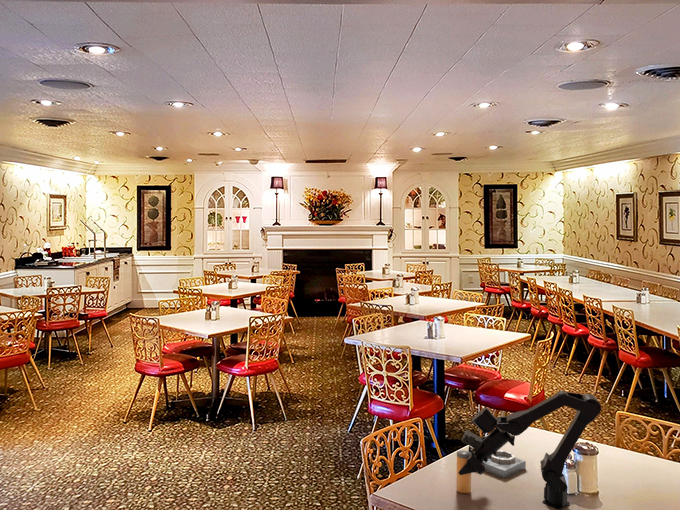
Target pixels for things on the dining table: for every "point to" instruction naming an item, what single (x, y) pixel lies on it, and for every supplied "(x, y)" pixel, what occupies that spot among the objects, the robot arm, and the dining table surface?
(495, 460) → the octagonal ring base plate
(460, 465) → the lidded container
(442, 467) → the dining table surface
